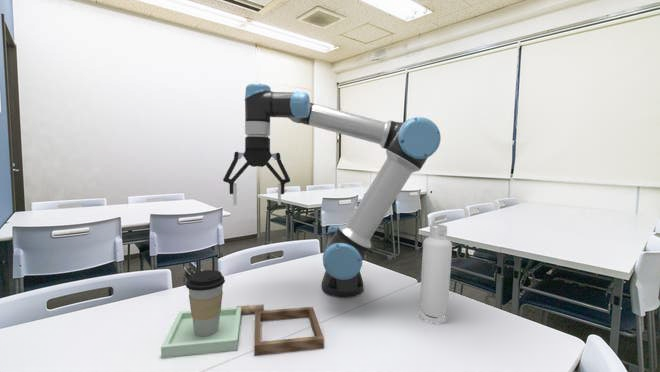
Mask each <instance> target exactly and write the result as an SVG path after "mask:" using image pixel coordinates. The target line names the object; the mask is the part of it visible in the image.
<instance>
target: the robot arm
mask: <svg viewBox="0 0 660 372" xmlns="http://www.w3.org/2000/svg"><path fill="white" fill-rule="evenodd" d="M244 109H245V110H244V113H245V114H244V115H245V116H244V117H245V121H244V134H245V137H244V152H239V151H235V152H234V154H233V156H234V157H233V160H232V162H231V163H230V166H229V167H228V170H227V171H226V173H225V176H224V177H223V182H225V183H228V185H229V194H230V195H232V197H233V198H232V200H233V206H237V193H238V192H237V191H238V190H237V189H238V188H237V185H238V184H237V183H235V182H236V180H238V179H239V177H240V176H241V175H242V174H243V173H244V172H245V171H246V169H247V168H248V167H249V166H250V167H253V168H254V167H258V168H259V167H260V168H263V167H265V166H266V168H267V169H269V171H270V172H271V173H272V174H273V176H274V177H275V178H276V179H277V181H279V183H278V184H277V205H278V206H281V205H282V203H281V202H282V195H284V194H285V186H286V184H288V183H290V182H291V178H290V176H289V174H288V172H287V170H286V168H285V165H284V164H283V162H282V160H281V154H280V153H279V152H275V153H271V138H270V137H269V136H271V118H286V119H289V120H291V121H292V122H294V123H296V124H303V125H306V126H311V127H315V128H318V129H322V130H326V131H329V132H334V133H336V134H340V135H345V136H347V137H352V138H355V139H359V140H363V141H367V142H369V143H374V144H378V145H380V147H381V148H382V149H385V154H386V160H384V163H383V164H382V166H381V167H380V169H379V171H378V172H377V174H376V176H375V177H374V179H373V181H372V182H371V184H370V185H369V187H368V189H367V190H366V192H365V193H364V195H363V197H362V199H360V201H359V203H358V204H357V207H356V208H355V210H354V211H353V213H352V214H351V216H350V217H349V219H348V221H347V222H346V223H345V224H341V225H340V224H336V225H335V224H334V225H333V224H332V225H330V226H328V229H327V241H326V242H327V243H326V245H325V249H324V251H323V255H322V264H323V268H324V269H325V272H324V275H323V278H322V280H321V290H322V292H323V293H324V294H327V295H328V296H331V297H335V298H341V299H342V298H354V297H357V295H358V296H360V295H361V294H362V293H363V292H364V288H365V286H364V280H363V277H362V273H361V269H362V267H363V261H364V259H365V258H366V256H367V254H368V253H369V251H370V250H371V248H372V243H371V239H372V237H373V235H374V234H375V232H376V231H377V229H378V227H379V226H380V224H381V223H382V221H383V219H384V218H385V216H386V215H387V213H388V211H390V208H391V207H392V205H393V204H394V202H395V201H396V199H397V198H398V195H399V194H400V193H401V191H402V189H403V188H404V186H405V185H406V183H407V182H408V180H409V179H410V176H411V175H412V174H413V173H416V172H419V171H421V169H422V167H423V166H424V165H425V163H426V162H427V160H428V158H430V157H431V156H432V155H434V153H436V152H437V150H438V149H439V147H440V145H441V140H442V139H441V131H440V130H439V126H437V124H436V123H435V122H434V121H432V120H431V119H429V118H426V117H421V116H419V117H417V116H415V117H412V118H409V119H407V120H406V121H404V122H403V121H401V122H400V121H395V120H387V121H381V120H378V119H375V118H370V117H366V116H362V115H359V114H355V113H352V112H348V111H343V110H339V109H336V108H333V107H328V106H324V105H320V104H317V103H314V102H313V103H312V102H311V101H310V96H309V94H308V93H307V92H299V91H293V92H292V91H291V92H290V91H287V92H286V91H282V92H281V91H272V90H271V87H270V85H268V84H266V83H265V84H263V83H249V84H247V85H246V87H245V97H244ZM242 158H244V159H245V161H246V162H245V163H244V164H243V165H242V166H241V167H240V169H239V170H238V171H237V172H236V173H235V174H234V176H233V177H232V178H230V177H231V175H232V173H233V171H234V169H235V167H236V165H237V163H238V162H239V160H240V159H242ZM271 158H273V160H275V161H276V163H277V164H278V167H279V169H280V171H281V173H282V175H283V177H284V178H282V177H281V176H280V174H279V173H278V172H277V171H276V169H275V168H274V167H273V166H272V165H271V163H270V160H271ZM359 294H360V295H359Z"/></svg>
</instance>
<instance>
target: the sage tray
mask: <svg viewBox="0 0 660 372" xmlns="http://www.w3.org/2000/svg"><path fill="white" fill-rule="evenodd" d="M241 321H242V315H241V307H236V306H235V307H223V308H222V307H221V313H220V318H219V328H218V331H217V332H216V333H214V334H212V335H210V336H206V337H200V336H197V335H196V334H195V332H194V325H193V318H192V315H191V310H185V311H183V310H182V311H178V313H177V315H176V316H175V318H174V321H173V323H172V325H171V327H170V329H169V331H168V333H167V335H166V337H165V339H164V341H163V343H162V344H161V346H160V358H161V359H164V358H165V359H166V358H173V357H182V356H183V357H184V356H193V355H203V354H212V353H213V354H214V353H222V352H231V351H238V350H239V349H238V347H239V341H240V338H239V337H240V331H241V323H242V322H241Z"/></svg>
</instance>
